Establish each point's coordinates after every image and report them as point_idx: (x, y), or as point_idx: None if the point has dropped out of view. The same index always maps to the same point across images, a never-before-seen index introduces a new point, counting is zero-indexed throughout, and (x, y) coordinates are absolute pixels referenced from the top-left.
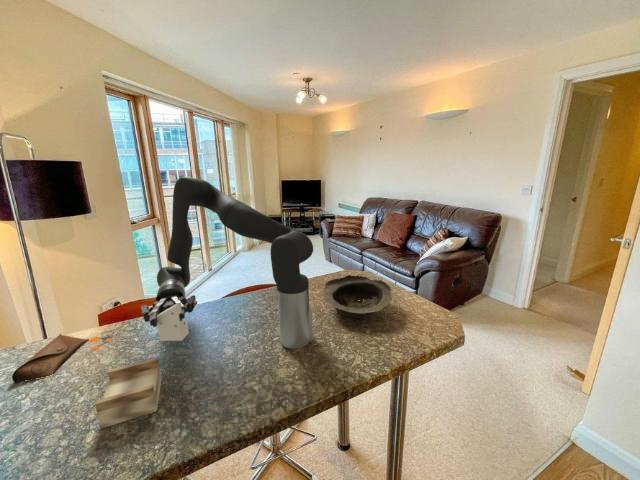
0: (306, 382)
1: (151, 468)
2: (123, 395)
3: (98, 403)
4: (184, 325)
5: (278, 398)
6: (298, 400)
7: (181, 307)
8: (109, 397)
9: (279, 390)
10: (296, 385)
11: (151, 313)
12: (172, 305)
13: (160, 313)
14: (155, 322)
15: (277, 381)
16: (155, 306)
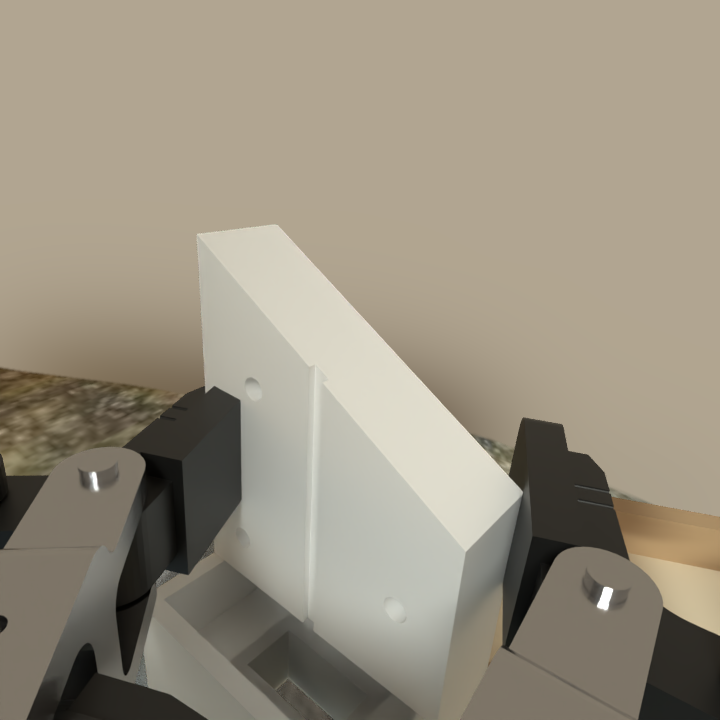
0: (11, 410)
1: (476, 440)
2: (612, 500)
3: (716, 518)
4: (202, 560)
5: (123, 417)
6: (97, 393)
7: (128, 454)
8: (678, 519)
9: (91, 429)
10: (41, 417)
11: (628, 570)
12: (150, 715)
13: (462, 518)
14: (515, 450)
15: (54, 451)
16: (613, 713)
